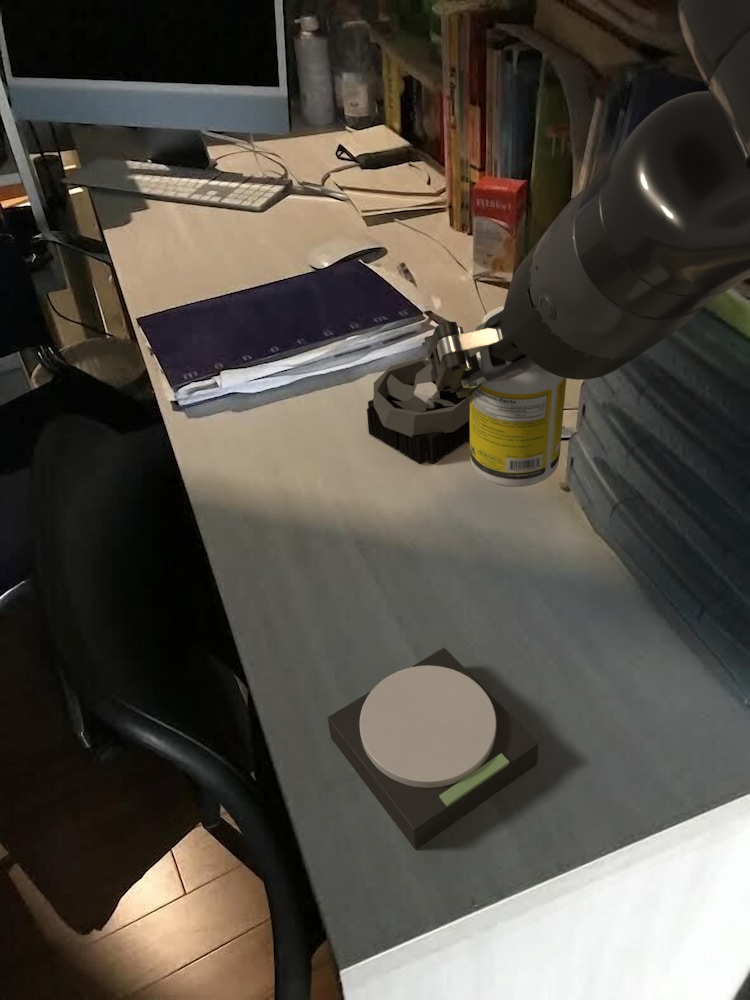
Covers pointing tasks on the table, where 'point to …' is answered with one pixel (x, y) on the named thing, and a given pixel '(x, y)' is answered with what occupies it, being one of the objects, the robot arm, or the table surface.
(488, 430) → the pill bottle
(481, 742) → the scale
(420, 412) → the cpu cooler
